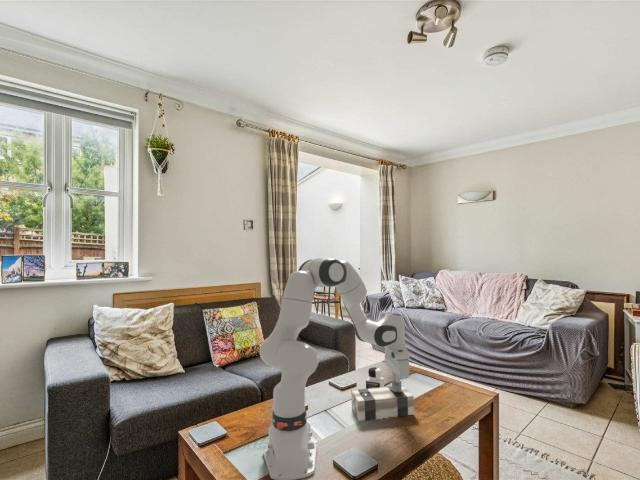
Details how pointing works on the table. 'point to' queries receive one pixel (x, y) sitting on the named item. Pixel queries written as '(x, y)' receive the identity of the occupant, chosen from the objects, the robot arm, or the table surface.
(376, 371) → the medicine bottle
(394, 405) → the block
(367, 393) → the peg
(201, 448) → the table surface
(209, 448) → the table surface
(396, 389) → the peg
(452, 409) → the table surface
